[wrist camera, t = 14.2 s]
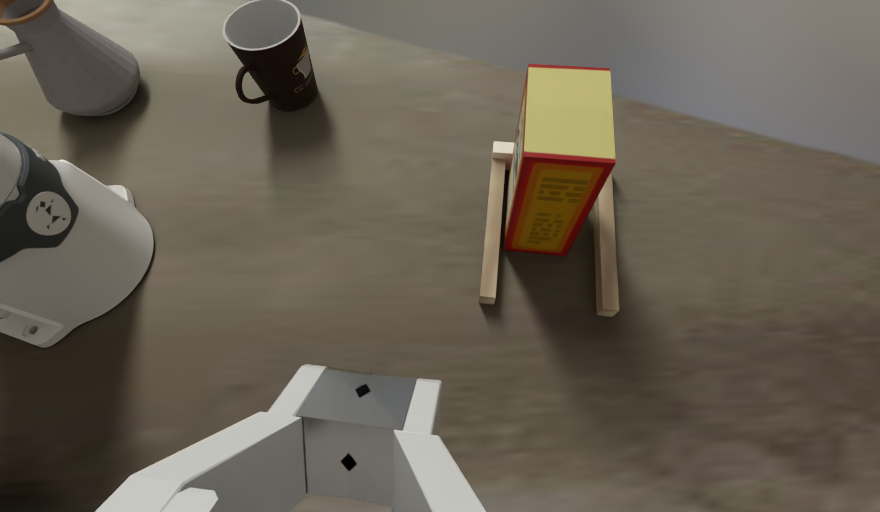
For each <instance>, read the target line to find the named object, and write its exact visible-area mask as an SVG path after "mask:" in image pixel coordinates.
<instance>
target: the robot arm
mask: <svg viewBox="0 0 880 512" xmlns="http://www.w3.org/2000/svg"><path fill="white" fill-rule="evenodd" d="M153 246H154V240H153V233H152V230H151V227H150V225H149V223H148V222H147V220H146V219H145V218H144V217H143V216H142V215H141V214H140V213H139V212H138V211H137V209H136V208H135V205H134V200H133V196H132V193H131V192H130V191H129V190H128V189H126V188H125V187H123V186H121V185H111V186H105V185H104V184H102V183H101V182H99V181H98V180H96V179H95V178H93V177H92V176H90V175H88V174H87V173H85V172H84V171H82V170H81V169H79V168H78V167H76V166H75V165H73V164H71V163H70V162H68V161H65V160H59V161H56V160H47V159H45V158H44V157H42V155H41V154H40V153H39V152H38V151H36V150H35V149H33V148H32V147H30V146H29V145H27V144H25V143H23V142H21V141H19V140H18V139H16V138H14V137H13V136H11V135H8V134H5V133H1V132H0V332H1V333H4V334H7V335H9V336H12V337H15V338H17V339H20V340H22V341H25V342H28V343H30V344H33V345H36V346H38V347H42V348H46V347H50V346H52V345H54V344H55V343H57V342H58V341H59V340H61V339H62V338H63V337H64V336H66V335H67V334H68V333H69V332H70V331H72V330H73V329H74V328H75V327H77V326H79V325H81V324H83V323H85V322H87V321H90V320H92V319H94V318H96V317H98V316H100V315H102V314H104V313H106V312H107V311H109V310H111V309H112V308H113V307H115V306H116V305H118V304H119V303H120V302H121V301H122V300H124V299H125V298H126V297H127V296H128V295H129V294H130V293H131V292H132V291H133V290H134V288H135V287H136V286H137V285H138V283H139V282H140V280H141V279H142V277H143V276H144V274H145V272H146V270H147V268H148V266H149V263H150V261H151V257H152V253H153ZM36 331H37V332H36ZM35 332H36V333H35ZM441 391H442V383H441V380H431V379H420V378H418V379H414V378H405V377H396V376H387V375H378V374H373V373H367V372H360V371H353V370H346V369H339V368H333V367H325V366H317V365H309V364H306V365H303V366H301V367H300V369H299V370H298V371H297V373H296V374H295V375H294V377H293V378H292V379H291V381H290V382H289V384H288V385H287V386H286V388H285V389H284V390H283V392H282V393H281V394H280V396H279V397H278V398H277V400H276V401H275V402H274V404H273V405H272V407H271V408H270V409H269V411H268V412H267V413H266V412H258V413H256V414H254V415H252V416H250V417H248V418H246V419H244V420H242V421H240V422H238V423H236V424H234V425H232V426H230V427H228V428H226V429H224V430H222V431H220V432H218V433H216V434H214V435H212V436H210V437H208V438H206V439H204V440H202V441H200V442H198V443H195V444H193V445H191V446H189V447H187V448H185V449H183V450H181V451H179V452H177V453H175V454H173V455H171V456H169V457H167V458H165V459H163V460H161V461H159V462H157V463H155V464H153V465H151V466H149V467H147V468H145V469H143V470H141V471H139V472H137V473H134V474H132V475H130V476H129V477H128V479H127V480H126V481H125V482H124V483H123V484H122V485H121V486H120V487H119V488H118V489H117V490H116V491H115V492H114V493H113V494H112V495H111V496H110V497H109V498H108V499H107V500H106V501H105V502H104V503H103V504H102V505H101V506H100V507H99V508H98V509H97V510H96V511H95V512H289V511H290V510H291V509H293V508H294V507H295V506H296V505H297V504H298V503H299V502H301V501H302V500H303V499H304V498H305V497H306V494H311V495H319V496H328V497H336V498H345V499H352V500H357V501H363V502H368V503H374V504H379V505H385V506H390V507H392V512H486V511H485V509H484V508H483V506H482V505H481V503H480V501H479V500H478V498H477V496H476V495H475V493H474V492H473V490H472V488H471V487H470V485H469V484H468V482H467V480H466V479H465V477H464V476H463V474H462V472H461V471H460V469H459V467H458V466H457V464H456V463H455V461H454V459H453V458H452V456H451V455H450V453H449V451H448V450H447V448H446V447H445V445H444V443H443V442H442V440H441V438H440V437H439V436H438V429H439V417H440V404H441Z"/></svg>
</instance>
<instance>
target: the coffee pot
mask: <svg viewBox="0 0 880 512" xmlns="http://www.w3.org/2000/svg"><path fill="white" fill-rule="evenodd" d="M0 25H4V26H7V27H8V28H10V29H11V30H13V31H14V32H15V33H16V36H17V38H18V40H19V42H20V43H19V44H17V45H14V46H11V47H8V48H5V49H2V50H0V60H2V59H5V58H9V57H12V56H16V55H19V54H23V53H25V54H26V57H27V59H28V61H29V63H30V65H31V67H32V69H33V71H34V73H35V76H36V78H37V80H38V82H39V84H40V86H41V88H42V90H43V92H44V94H45V97H46V99H47V101H48V102H49V103H50V104H52V105H53V106H54V107H55V108H57V109H59V110H62V111H64V112H67V113H70V114H73V115H82V116H104V115H108V114H112V113H114V112H116V111H118V110H120V109H122V108H123V107H125V106H126V105H127V104H128V103H129V102H130V101H131V100H132V99H133V98H134V96H135V94H136V91H137V87H138V83H139V78H140V72H139V66H138V62H137V61H136V59H135V57H134V56H133V54H132V53H130V52H129V51H127V50H126V49H125V48H123V47H121V46H120V45H118V44H116V43H115V42H113V41H111V40H110V39H108V38H106V37H105V36H103V35H101V34H99V33H98V32H96V31H94V30H93V29H91V28H89V27H88V26H86V25H84V24H83V23H81V22H79V21H78V20H76V19H74V18H73V17H71V16H69V15H68V14H66V13H64V12H63V11H61V10H59V9H58V8H57V6H56V5H55V3H54V1H53V0H0Z"/></svg>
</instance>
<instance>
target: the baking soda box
mask: <svg viewBox="0 0 880 512" xmlns="http://www.w3.org/2000/svg"><path fill="white" fill-rule="evenodd" d="M615 163H616V162H615V145H614V128H613V111H612V94H611V78H610V69H609V68H591V67H575V66H557V65H539V64H529V65H528V70H527V76H526V81H525V87H524V93H523V98H522V104H521V109H520V115H519V121H518V126H517V132H516V138H515V143H514V149H513V155H512V160H511V166H510V172H509V178H508V192H507V206H506V221H505V235H504V249H503V250H504V251H515V252H525V253H536V254H546V255H557V256H567V254H568V252H569V250H570V248H571V246H572V244H573V243H574V241H575V239H576V237H577V235H578V233H579V231H580V229H581V227H582V226H583V224H584V222H585V220H586V218H587V216H588V214H589V212H590V211H591V209H592V207H593V205H594V203H595V201H596V199H597V197H598V195H599V194H600V192H601V190H602V188H603V186H604V184H605V182H606V180H607V178H608V177H609V175H610V173H611V171H612V169H613V167H614V165H615Z"/></svg>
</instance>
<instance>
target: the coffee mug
mask: <svg viewBox="0 0 880 512" xmlns="http://www.w3.org/2000/svg"><path fill="white" fill-rule="evenodd" d="M222 33H223V36H224V38H225V40H226V41H227V42H228V44H229V45H230V47H231V48H232V49H233V51H234V52H235V54H236V55H237V57H238V58H239V59H240V61H241V62H242V64H243V65H244V66H243V67H242V68H240V70H239V72H238V74H237V78H236V91H237V94H238V96H239V98H240V99H241V100H242V101H243V102H246V103H251V104H258V103H261V102H265V101H267V100H269V101H270V103H271V104H272V105H273V106H274V107H275V108H277V109H278V110H282V111H296V110H300V109H302V108H304V107H306V106H308V105H309V104H310V103H311V102H312V101H313V100H314V99H315V97H316V95H317V85H316V81H315V76H314V72H313V68H312V63H311V59H310V55H309V50H308V46H307V42H306V37H305V33H304V28H303V24H302V20H301V15H300V12H299V10H298V9H297V7H296V6H295V5H293V4H292V3H291V2H288V1H286V0H253V1H250V2H247V3H245V4H243V5H241V6H239V7H238V8H236V9H235V10H234V11H232V12H231V13H230V14H229V16H228V17H227V18H226V20H225V22H224V24H223V29H222ZM246 72H249V73H250V75H251V76H252V78H253V79H254V80H255V82H256V83H257V85H258V86H259V87H260V89H261V90H262V92H263V93H264V94H265V96H262V97H259V98H256V99H248V98H246V97H245V95H244V94H243V91H242V80H243V77H244V75H245V73H246Z"/></svg>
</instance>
